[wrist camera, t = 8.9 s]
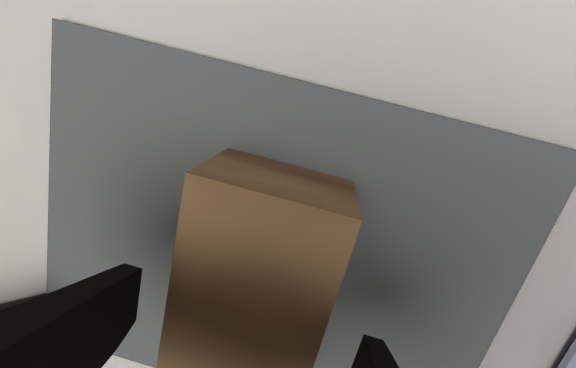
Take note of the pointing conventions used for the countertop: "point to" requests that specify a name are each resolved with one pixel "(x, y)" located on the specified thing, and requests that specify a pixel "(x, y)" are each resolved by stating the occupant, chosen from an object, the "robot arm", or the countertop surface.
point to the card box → (256, 263)
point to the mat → (308, 154)
